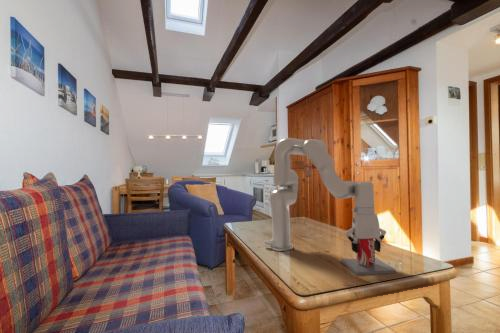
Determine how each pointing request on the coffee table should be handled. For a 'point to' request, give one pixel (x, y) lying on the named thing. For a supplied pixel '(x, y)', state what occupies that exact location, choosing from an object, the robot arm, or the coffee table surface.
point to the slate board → (368, 267)
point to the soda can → (365, 252)
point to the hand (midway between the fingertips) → (366, 251)
